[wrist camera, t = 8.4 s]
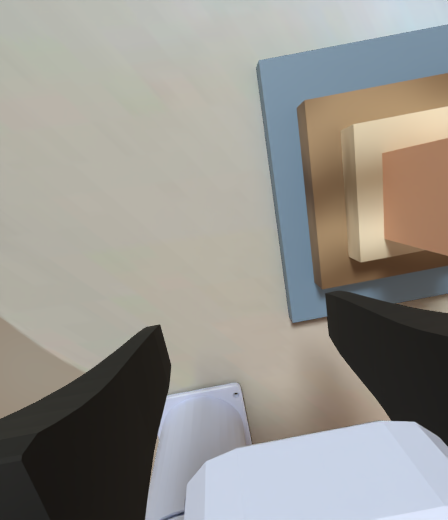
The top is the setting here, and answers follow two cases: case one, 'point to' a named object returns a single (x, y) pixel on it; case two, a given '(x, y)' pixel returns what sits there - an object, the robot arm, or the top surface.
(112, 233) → the top surface
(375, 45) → the plinth board
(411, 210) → the terracotta block
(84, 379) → the robot arm
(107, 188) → the top surface
